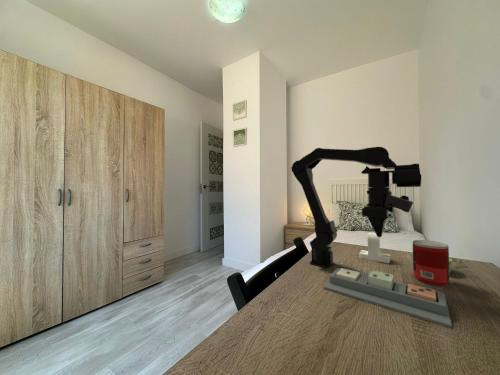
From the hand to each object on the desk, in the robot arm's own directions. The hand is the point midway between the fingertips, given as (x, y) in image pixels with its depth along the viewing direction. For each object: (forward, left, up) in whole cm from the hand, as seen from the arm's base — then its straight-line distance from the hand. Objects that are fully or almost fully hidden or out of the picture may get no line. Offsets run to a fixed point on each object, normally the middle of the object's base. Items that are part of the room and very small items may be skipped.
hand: (379, 236), depth 64 cm
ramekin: (+13, +16, -12) cm, 24 cm away
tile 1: (-6, -13, -11) cm, 18 cm away
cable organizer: (-4, +16, -12) cm, 21 cm away
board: (+2, -13, -12) cm, 18 cm away
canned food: (+12, +5, -12) cm, 18 cm away
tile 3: (+10, -13, -11) cm, 20 cm away
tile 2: (+2, -13, -10) cm, 16 cm away
